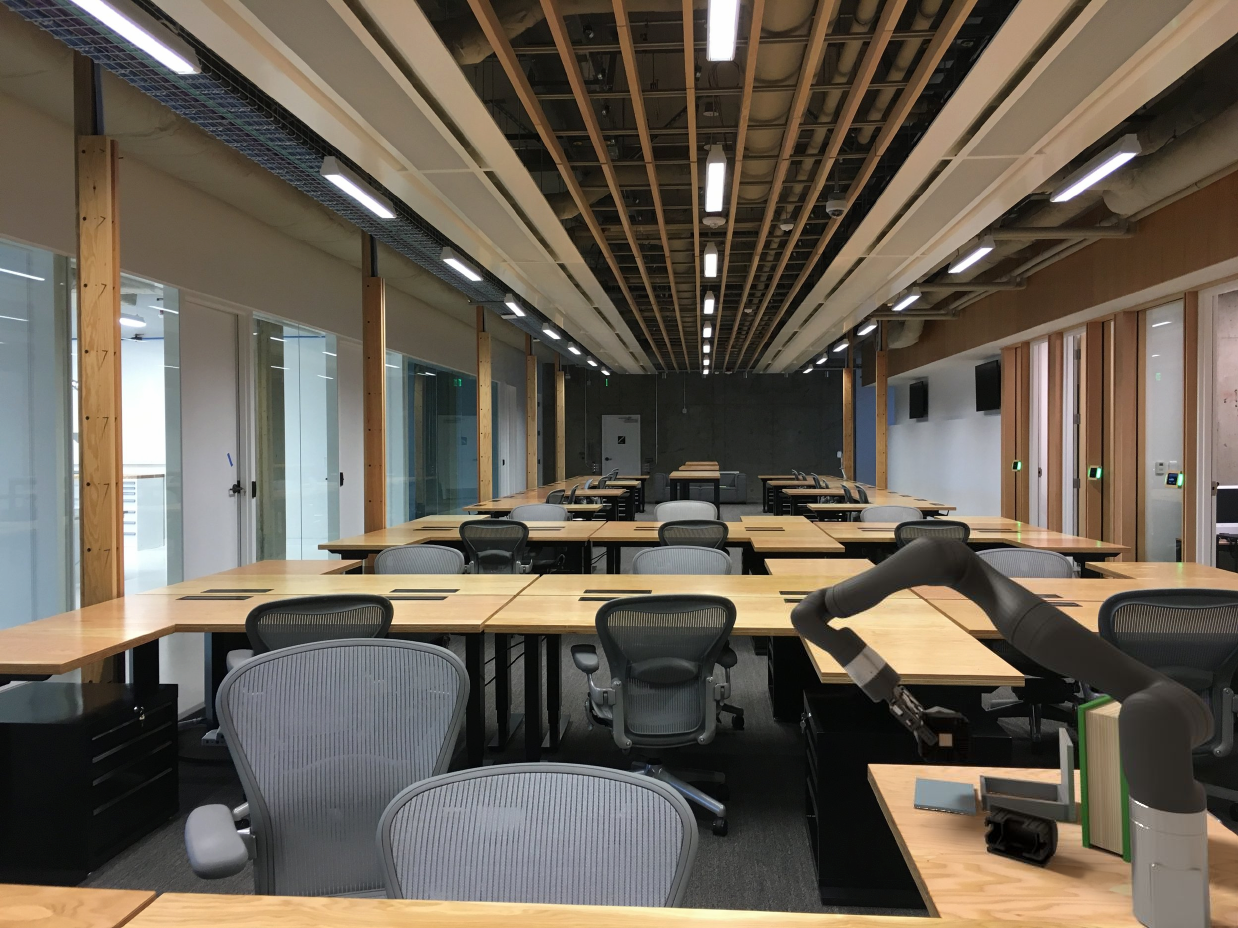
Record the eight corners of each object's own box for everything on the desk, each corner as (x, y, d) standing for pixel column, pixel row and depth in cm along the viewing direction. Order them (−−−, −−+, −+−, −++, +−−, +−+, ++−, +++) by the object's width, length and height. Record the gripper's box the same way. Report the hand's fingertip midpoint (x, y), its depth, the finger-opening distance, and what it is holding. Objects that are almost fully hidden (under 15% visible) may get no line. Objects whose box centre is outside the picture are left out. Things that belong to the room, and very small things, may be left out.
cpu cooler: (966, 756, 162) (965, 706, 162) (974, 766, 156) (973, 715, 156) (912, 754, 163) (911, 705, 163) (919, 765, 157) (917, 713, 157)
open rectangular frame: (1075, 822, 146) (1073, 745, 147) (982, 810, 152) (980, 737, 152) (1067, 799, 156) (1064, 728, 156) (980, 789, 162) (977, 720, 162)
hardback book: (1129, 862, 131) (1124, 716, 131) (1082, 846, 137) (1077, 706, 138) (1176, 833, 141) (1171, 697, 141) (1131, 819, 147) (1126, 688, 147)
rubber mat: (976, 815, 150) (975, 811, 150) (913, 807, 154) (913, 803, 154) (973, 787, 163) (973, 783, 163) (916, 781, 167) (916, 777, 167)
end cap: (1059, 854, 135) (1057, 813, 135) (1046, 869, 130) (1045, 828, 130) (997, 836, 142) (995, 798, 142) (982, 851, 137) (981, 811, 137)
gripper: (882, 669, 156) (949, 736, 152) (887, 653, 170) (948, 714, 165) (854, 693, 158) (920, 761, 154) (861, 676, 172) (922, 737, 167)
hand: (934, 736), depth 159 cm, fingers closed on cpu cooler, 6 cm apart
